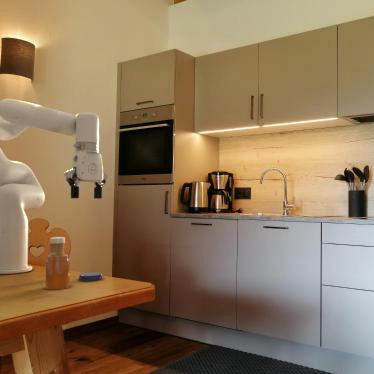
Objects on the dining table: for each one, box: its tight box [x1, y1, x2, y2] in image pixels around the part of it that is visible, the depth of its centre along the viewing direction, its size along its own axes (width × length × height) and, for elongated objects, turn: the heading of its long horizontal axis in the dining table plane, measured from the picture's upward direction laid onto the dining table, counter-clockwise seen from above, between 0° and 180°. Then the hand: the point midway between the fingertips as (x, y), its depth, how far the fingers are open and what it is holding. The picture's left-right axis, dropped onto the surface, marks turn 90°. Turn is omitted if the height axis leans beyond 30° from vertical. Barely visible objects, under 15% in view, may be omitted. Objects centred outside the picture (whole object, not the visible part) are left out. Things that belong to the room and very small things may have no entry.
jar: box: [45, 253, 71, 291], centre depth 124 cm, size 6×6×9 cm
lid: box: [78, 271, 103, 282], centre depth 136 cm, size 7×7×2 cm
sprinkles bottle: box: [49, 236, 66, 255], centre depth 138 cm, size 5×5×13 cm
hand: (86, 198), depth 144 cm, fingers open, 9 cm apart
